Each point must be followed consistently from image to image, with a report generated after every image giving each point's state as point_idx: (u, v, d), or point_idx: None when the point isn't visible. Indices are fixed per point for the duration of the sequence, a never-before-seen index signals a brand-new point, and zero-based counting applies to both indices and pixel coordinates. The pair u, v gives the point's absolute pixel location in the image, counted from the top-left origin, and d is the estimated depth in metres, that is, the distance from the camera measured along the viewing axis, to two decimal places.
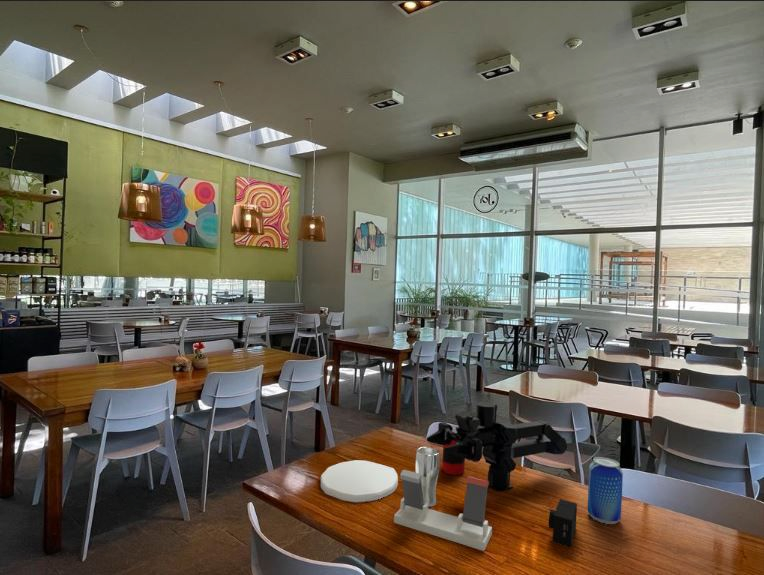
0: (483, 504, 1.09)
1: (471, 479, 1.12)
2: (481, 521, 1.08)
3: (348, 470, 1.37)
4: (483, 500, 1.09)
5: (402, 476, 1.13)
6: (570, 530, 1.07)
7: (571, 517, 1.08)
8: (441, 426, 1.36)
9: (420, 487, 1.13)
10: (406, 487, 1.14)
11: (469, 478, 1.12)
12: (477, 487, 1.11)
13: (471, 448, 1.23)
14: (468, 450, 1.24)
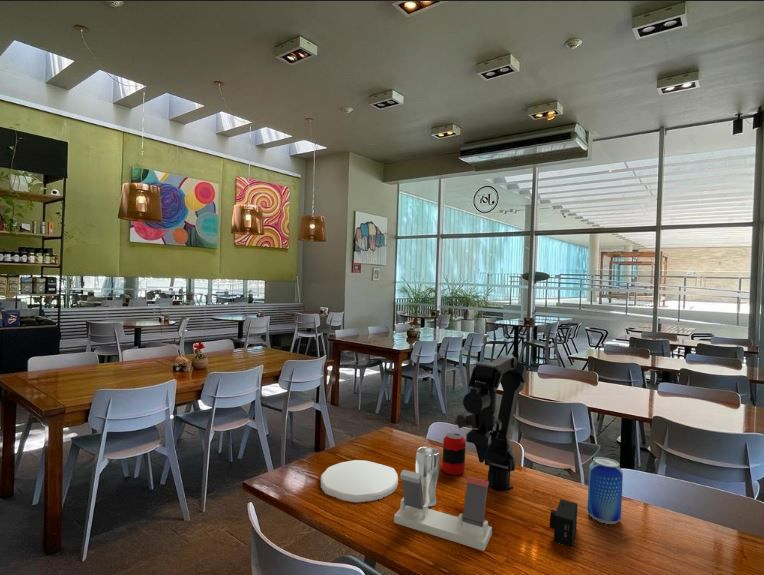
0: (483, 504, 1.09)
1: (471, 479, 1.12)
2: (481, 521, 1.08)
3: (348, 470, 1.37)
4: (483, 500, 1.09)
5: (402, 476, 1.13)
6: (571, 530, 1.07)
7: (572, 517, 1.08)
8: None
9: (420, 487, 1.13)
10: (406, 487, 1.14)
11: (469, 478, 1.12)
12: (477, 487, 1.11)
13: None
14: None
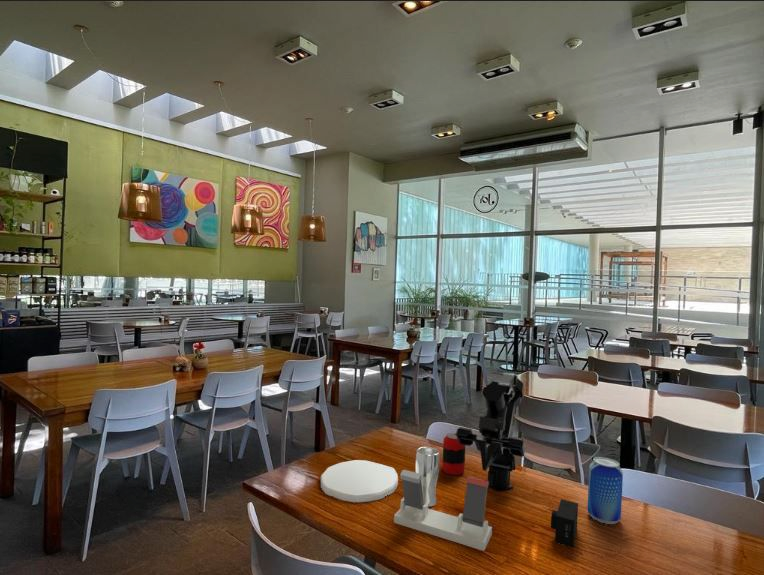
0: (483, 504, 1.09)
1: (471, 479, 1.12)
2: (481, 521, 1.08)
3: (348, 470, 1.37)
4: (483, 500, 1.09)
5: (402, 476, 1.13)
6: (572, 530, 1.07)
7: (573, 517, 1.08)
8: (480, 442, 1.21)
9: (420, 487, 1.13)
10: (406, 487, 1.14)
11: (469, 478, 1.12)
12: (477, 487, 1.11)
13: (501, 448, 1.20)
14: (498, 450, 1.21)
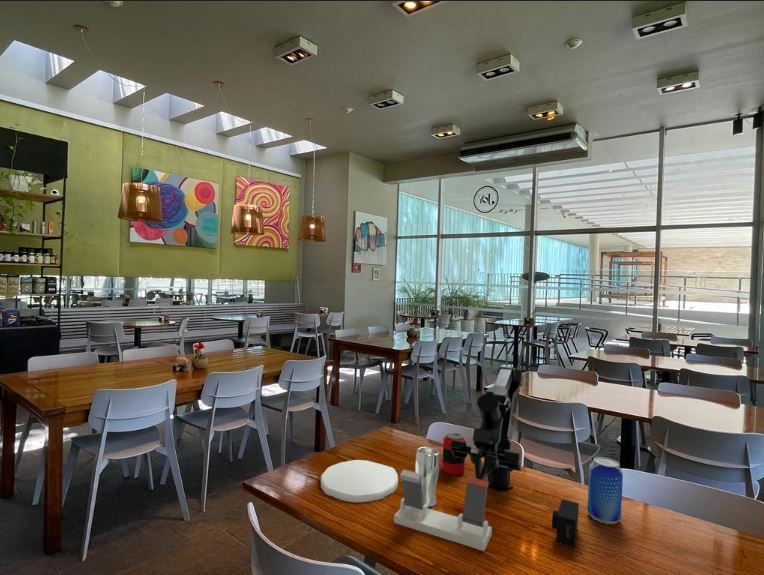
0: (483, 504, 1.09)
1: (471, 479, 1.12)
2: (481, 521, 1.08)
3: (348, 470, 1.37)
4: (483, 500, 1.09)
5: (402, 476, 1.13)
6: (574, 530, 1.07)
7: (574, 517, 1.08)
8: (474, 455, 1.16)
9: (420, 487, 1.13)
10: (406, 487, 1.14)
11: (469, 478, 1.12)
12: (477, 487, 1.11)
13: (496, 461, 1.15)
14: (493, 464, 1.16)
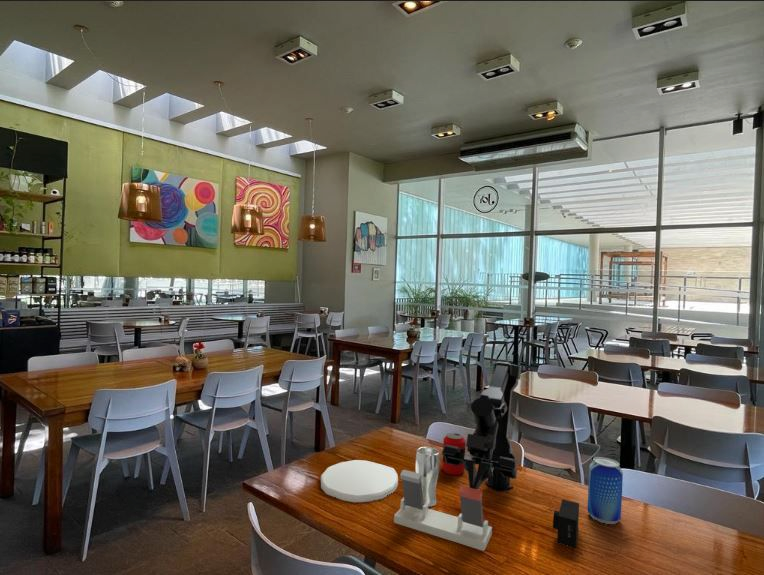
0: (480, 512, 1.06)
1: (463, 494, 1.05)
2: (480, 524, 1.07)
3: (348, 470, 1.37)
4: (479, 510, 1.06)
5: (402, 476, 1.13)
6: (575, 530, 1.07)
7: (575, 517, 1.08)
8: (468, 462, 1.10)
9: (420, 487, 1.13)
10: (406, 487, 1.14)
11: (461, 493, 1.06)
12: (471, 499, 1.05)
13: (491, 469, 1.09)
14: (488, 471, 1.10)
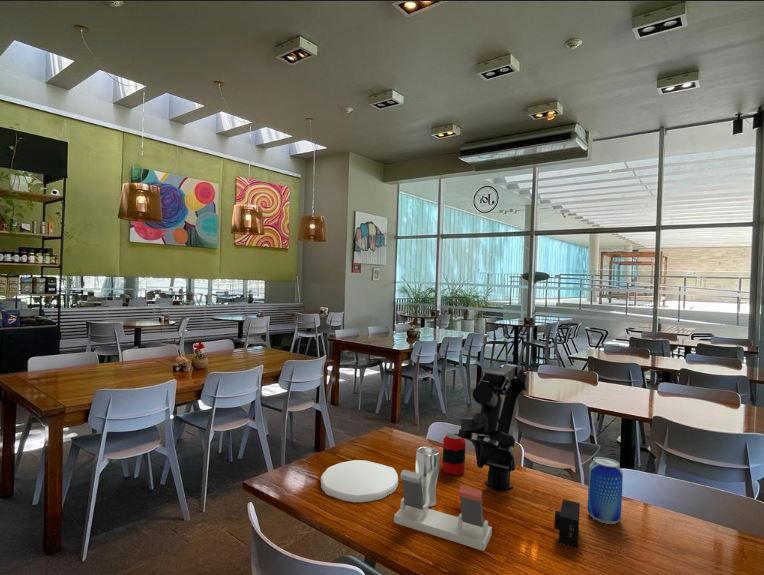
0: (480, 512, 1.06)
1: (463, 494, 1.05)
2: (480, 524, 1.07)
3: (348, 470, 1.37)
4: (479, 510, 1.05)
5: (402, 476, 1.13)
6: (576, 531, 1.06)
7: (577, 517, 1.08)
8: (472, 441, 1.25)
9: (420, 487, 1.13)
10: (406, 487, 1.14)
11: (461, 493, 1.06)
12: (471, 500, 1.05)
13: (490, 443, 1.21)
14: (490, 445, 1.22)
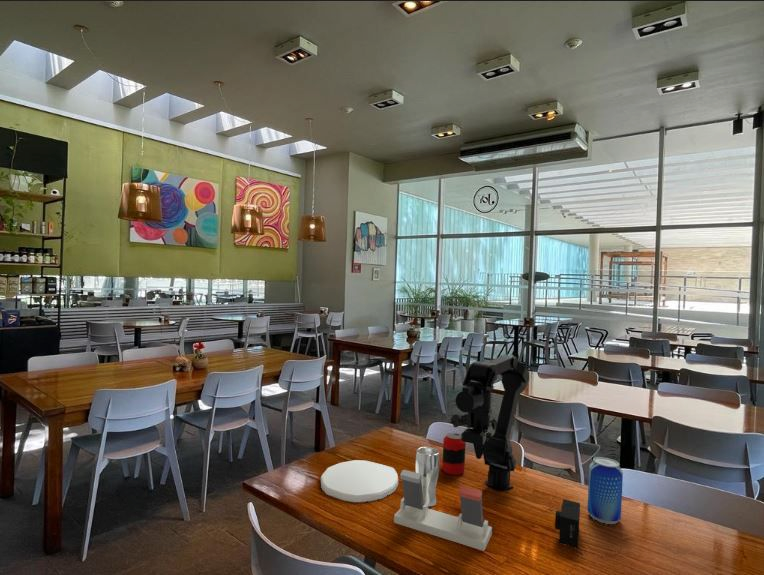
0: (480, 512, 1.06)
1: (463, 494, 1.05)
2: (480, 524, 1.07)
3: (348, 470, 1.37)
4: (479, 510, 1.05)
5: (402, 476, 1.13)
6: (577, 531, 1.06)
7: (577, 517, 1.08)
8: None
9: (420, 487, 1.13)
10: (406, 487, 1.14)
11: (461, 493, 1.06)
12: (471, 500, 1.05)
13: None
14: None
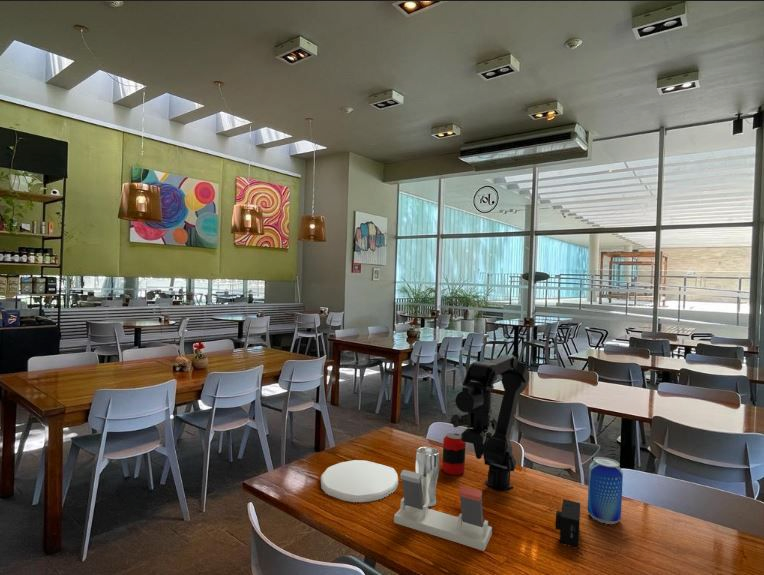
0: (480, 512, 1.06)
1: (463, 494, 1.05)
2: (480, 524, 1.07)
3: (348, 470, 1.37)
4: (479, 510, 1.05)
5: (402, 476, 1.13)
6: (577, 531, 1.06)
7: (578, 517, 1.08)
8: None
9: (420, 487, 1.13)
10: (406, 487, 1.14)
11: (461, 493, 1.06)
12: (471, 500, 1.05)
13: None
14: None
